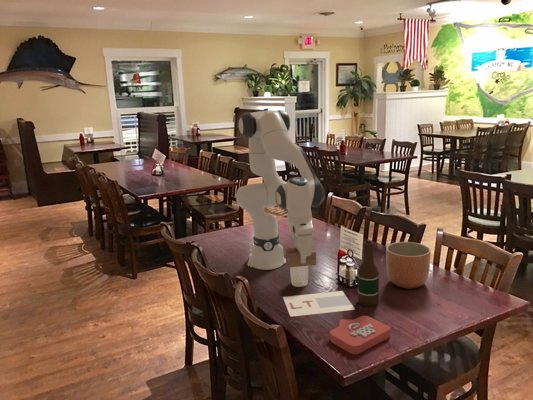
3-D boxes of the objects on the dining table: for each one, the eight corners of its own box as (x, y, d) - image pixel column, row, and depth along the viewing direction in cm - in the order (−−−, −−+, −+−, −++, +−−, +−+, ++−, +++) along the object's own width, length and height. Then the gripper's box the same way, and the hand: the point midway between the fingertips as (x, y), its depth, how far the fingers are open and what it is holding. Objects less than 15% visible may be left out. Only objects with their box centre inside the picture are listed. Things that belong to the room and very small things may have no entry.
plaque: (358, 309, 159) (392, 326, 147) (358, 319, 160) (392, 337, 148) (320, 326, 149) (354, 346, 137) (321, 337, 150) (354, 357, 138)
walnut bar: (286, 261, 168) (285, 248, 167) (312, 258, 170) (312, 246, 168) (289, 267, 163) (288, 254, 161) (316, 264, 164) (315, 251, 163)
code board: (282, 298, 177) (282, 296, 177) (342, 292, 180) (342, 290, 180) (290, 318, 162) (290, 316, 162) (355, 311, 165) (355, 309, 165)
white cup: (286, 285, 189) (285, 263, 186) (298, 279, 194) (297, 257, 192) (301, 290, 184) (300, 267, 181) (312, 284, 189) (312, 261, 187)
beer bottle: (353, 300, 173) (353, 240, 168) (370, 295, 176) (370, 237, 171) (365, 308, 166) (365, 247, 161) (382, 304, 169) (383, 243, 164)
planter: (384, 274, 195) (385, 241, 192) (426, 276, 192) (427, 242, 188) (386, 291, 179) (387, 255, 175) (431, 293, 176) (433, 257, 172)
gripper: (285, 216, 172) (287, 250, 175) (296, 232, 152) (297, 270, 156) (302, 214, 173) (303, 248, 176) (314, 230, 153) (315, 268, 156)
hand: (300, 259), depth 166 cm, fingers closed on walnut bar, 6 cm apart
